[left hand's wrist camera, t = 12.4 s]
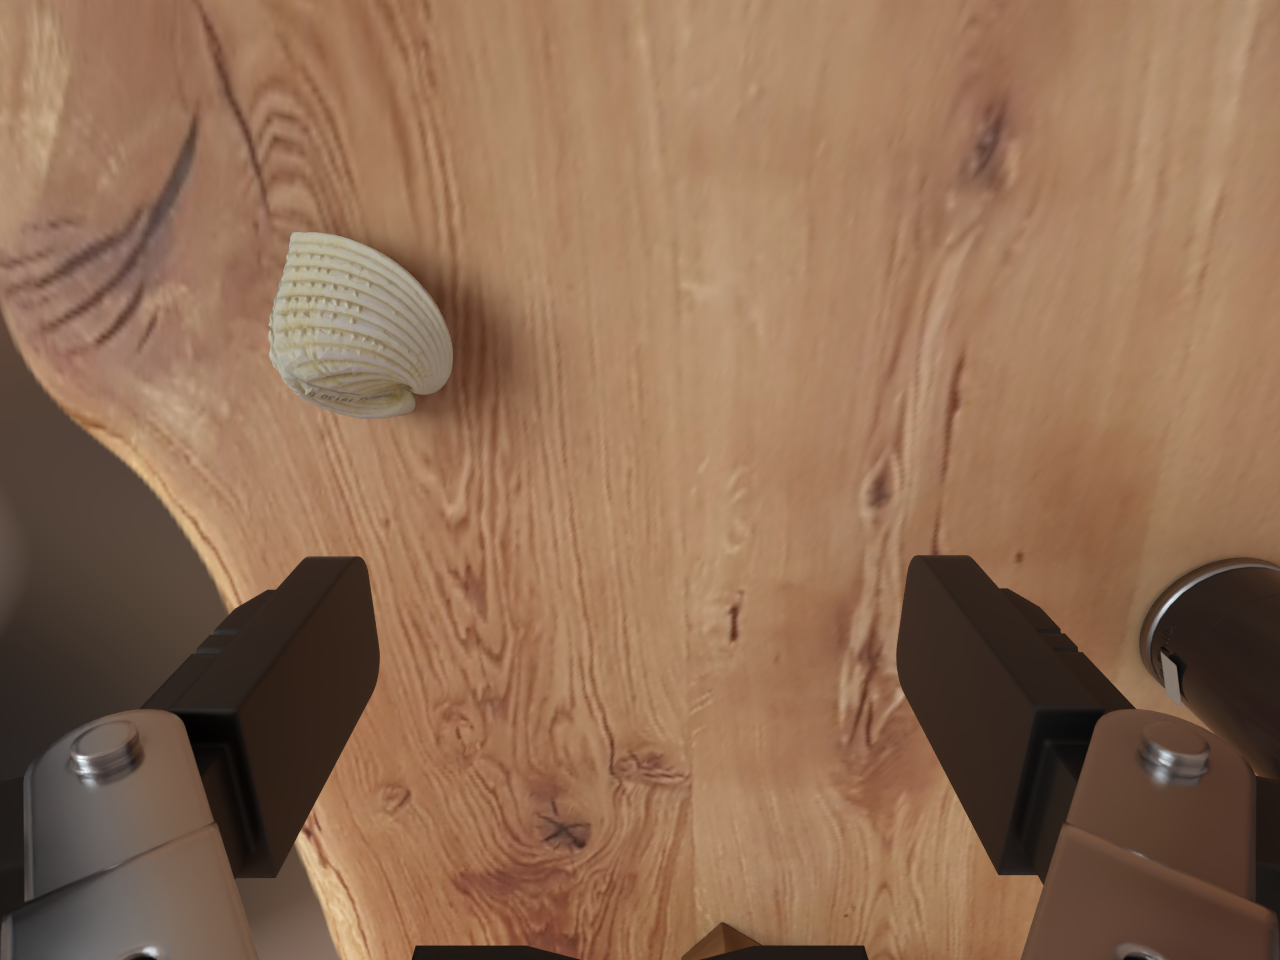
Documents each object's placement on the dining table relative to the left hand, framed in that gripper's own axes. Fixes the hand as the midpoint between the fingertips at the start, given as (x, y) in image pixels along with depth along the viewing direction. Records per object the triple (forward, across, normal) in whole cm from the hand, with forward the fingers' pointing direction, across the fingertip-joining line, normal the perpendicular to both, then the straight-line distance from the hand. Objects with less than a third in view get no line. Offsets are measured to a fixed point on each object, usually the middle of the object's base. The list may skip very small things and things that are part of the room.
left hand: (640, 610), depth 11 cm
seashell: (+30, -13, -1) cm, 32 cm away
